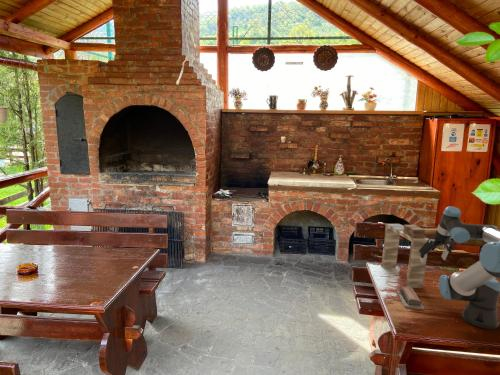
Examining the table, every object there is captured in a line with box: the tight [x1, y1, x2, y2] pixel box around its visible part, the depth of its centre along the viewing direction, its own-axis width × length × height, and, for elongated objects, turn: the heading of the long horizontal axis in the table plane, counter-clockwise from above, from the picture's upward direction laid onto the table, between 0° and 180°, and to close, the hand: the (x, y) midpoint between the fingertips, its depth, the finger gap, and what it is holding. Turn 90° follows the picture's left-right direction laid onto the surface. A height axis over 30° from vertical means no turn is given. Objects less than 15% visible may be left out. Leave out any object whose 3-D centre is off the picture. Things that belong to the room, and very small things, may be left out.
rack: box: [380, 223, 429, 289], centre depth 219 cm, size 32×10×30 cm, turn 8°
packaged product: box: [396, 285, 425, 311], centre depth 190 cm, size 18×5×10 cm
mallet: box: [403, 224, 437, 238], centre depth 209 cm, size 10×22×5 cm, turn 98°
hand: (432, 259), depth 199 cm, fingers open, 13 cm apart
